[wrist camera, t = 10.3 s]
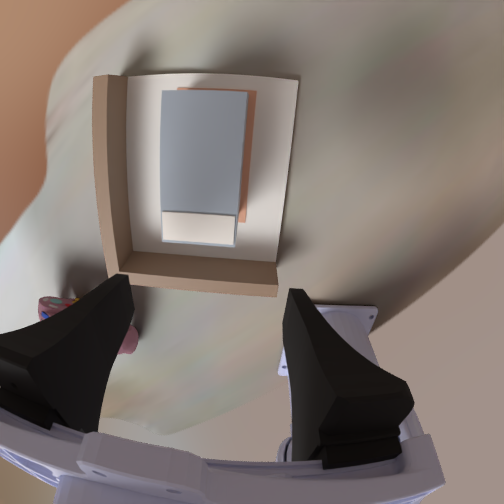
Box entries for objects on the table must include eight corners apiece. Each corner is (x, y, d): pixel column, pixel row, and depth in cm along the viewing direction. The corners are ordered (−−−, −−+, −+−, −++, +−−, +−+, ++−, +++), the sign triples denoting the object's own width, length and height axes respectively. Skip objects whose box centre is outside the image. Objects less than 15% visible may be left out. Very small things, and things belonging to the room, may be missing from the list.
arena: (273, 269, 23) (276, 297, 20) (125, 257, 23) (109, 281, 20) (297, 81, 16) (306, 76, 13) (117, 78, 16) (93, 76, 13)
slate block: (248, 94, 16) (247, 92, 12) (239, 212, 20) (234, 248, 16) (184, 92, 16) (161, 90, 12) (181, 209, 20) (161, 242, 16)
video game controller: (147, 308, 27) (128, 330, 20) (140, 349, 27) (121, 380, 20) (62, 281, 26) (26, 292, 19) (57, 321, 26) (24, 341, 19)
